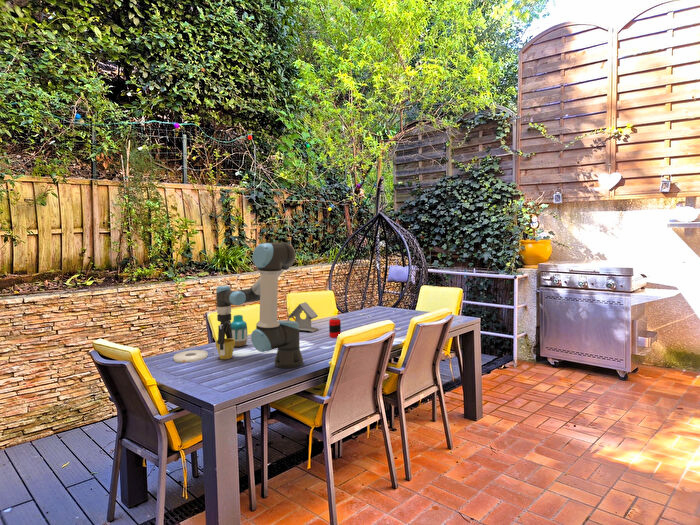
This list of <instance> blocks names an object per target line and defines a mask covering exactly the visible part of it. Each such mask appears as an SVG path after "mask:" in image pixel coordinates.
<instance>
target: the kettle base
mask: <svg viewBox="0 0 700 525" xmlns="http://www.w3.org/2000/svg"><path fill="white" fill-rule="evenodd" d="M207 356H208V351H206V350H201V349H194V350H193V349H192V350H186V351H185V350H184V351H180V352H177V353H176V354H174V355H173V362H175V363H179V364H181V363H182V364H183V363H185V364H187V362H190V363H195V361H197V362H200V361H199V360H201V361H203V360H202V359H204V360H206V359H208V357H207ZM205 358H206V359H205Z"/></svg>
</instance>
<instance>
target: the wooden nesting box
mask: <svg viewBox="0 0 700 525" xmlns="http://www.w3.org/2000/svg"><path fill="white" fill-rule="evenodd" d="M302 313H305V318H301V314H302ZM287 317H288V318H289V319H292V318H294V319H295V320H294V321H296V322H298V324H299V329H300V330H299V331H309V334H312V333H315V332H317V331H318V329H319V328H318V327H312V320H313V319H316V318H318V314H317V313H316V311H314V309H313V308H312V307H311V306H310V305H309V304H308V302H307V301H305V302H302V303H299V304H298V305H297V306H296V307H295V308H294V310H293V311H292V312H291V313H290V314H289V315H288V316H287ZM311 332H312V333H311Z"/></svg>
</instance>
